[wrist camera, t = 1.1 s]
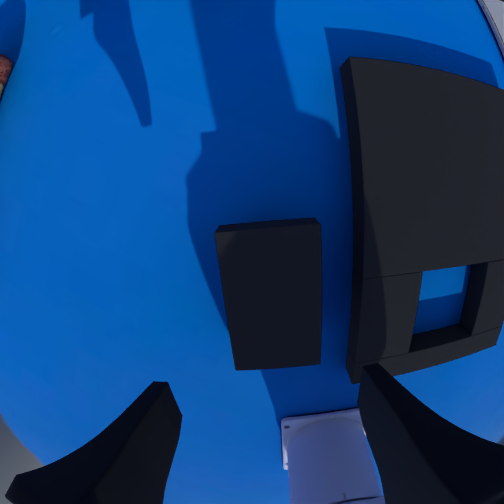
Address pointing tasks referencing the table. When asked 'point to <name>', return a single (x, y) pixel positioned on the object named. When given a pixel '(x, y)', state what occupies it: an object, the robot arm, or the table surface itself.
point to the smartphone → (495, 18)
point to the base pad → (422, 209)
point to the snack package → (4, 71)
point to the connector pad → (272, 291)
